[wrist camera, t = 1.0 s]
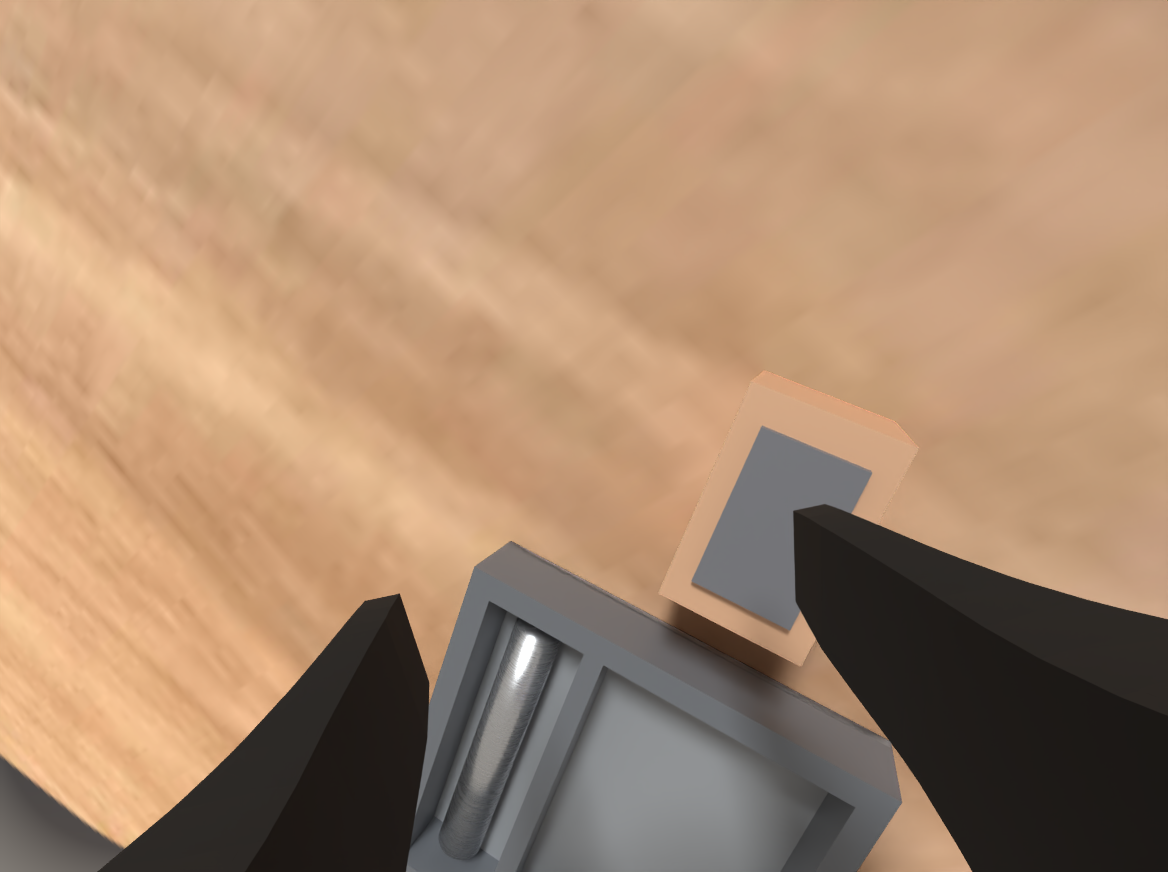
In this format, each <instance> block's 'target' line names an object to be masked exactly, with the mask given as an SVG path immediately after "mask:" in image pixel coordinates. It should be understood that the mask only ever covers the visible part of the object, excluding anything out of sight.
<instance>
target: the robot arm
mask: <svg viewBox="0 0 1168 872" xmlns="http://www.w3.org/2000/svg"><path fill="white" fill-rule="evenodd" d="M793 526H794V565H795V601H796V603H797V605H798V607H799V609H800V611H801V613H802V615H803V616H804V618H805V620H806V622H807V624H808V626H809V628H810V629H811V631H812V633H813V635H814V636H815V638H816V640H817V642H818V643H819V645H820V647H821V648H822V650H823V651H824V653H825V654H826V656H827V657H828V658H829V660H830V661H831V663H832V664H833V665H834V667H835V668H836V669H837V671H838V672H839V673H840V675H841V676H842V678H843V679H844V680H845V682H846V683H847V684H848V686H849V687H850V688H851V690H852V691H853V692H854V694H855V695H856V696H857V698H858V699H859V701H860V702H861V703H862V705H863V706H864V707H865V709H866V710H867V711H868V713H869V714H870V715H871V717H872V718H873V719H874V721H875V722H876V723H877V725H878V726H879V727H880V729H881V730H882V731H883V733H884V734H885V735H886V737H887V738H888V739H889V741H890V742H891V744H892V745H893V746H894V748H895V749H896V750H897V752H898V753H899V754H900V756H901V757H902V758H903V760H904V761H905V763H906V764H907V766H908V767H909V769H910V770H911V772H912V773H913V774H914V776H915V777H916V779H917V780H918V782H919V783H920V785H921V786H922V788H923V790H924V791H925V793H926V795H927V796H928V798H929V800H930V801H931V803H932V805H933V806H934V808H935V809H936V811H937V813H938V814H939V816H940V818H941V819H942V821H943V823H944V824H945V826H946V828H947V829H948V831H949V832H950V834H951V836H952V837H953V839H954V841H955V842H956V844H957V846H958V847H959V849H960V851H961V853H962V854H963V856H964V858H965V859H966V861H967V863H968V865H969V866H970V868H971V870H972V872H1168V619H1164V618H1160V617H1155V616H1151V615H1147V614H1142V613H1138V612H1134V611H1129V610H1125V609H1121V608H1117V607H1113V606H1109V605H1105V604H1101V603H1097V602H1093V601H1090V600H1086V599H1082V598H1079V597H1076V596H1072V595H1069V594H1065V593H1062V592H1059V591H1055V590H1052V589H1048V588H1045V587H1042V586H1038V585H1035V584H1032V583H1028V582H1025V581H1022V580H1019V579H1016V578H1013V577H1010V576H1007V575H1004V574H1001V573H999V572H996V571H993V570H990V569H988V568H985V567H982V566H979V565H976V564H974V563H971V562H968V561H965V560H963V559H960V558H958V557H955V556H952V555H950V554H947V553H945V552H942V551H940V550H937V549H935V548H932V547H930V546H927V545H925V544H922V543H920V542H917V541H915V540H913V539H910V538H908V537H905V536H903V535H901V534H898V533H896V532H894V531H891V530H889V529H887V528H884V527H882V526H880V525H877V524H875V523H872V522H870V521H868V520H865V519H863V518H861V517H858V516H856V515H853V514H851V513H848V512H846V511H843V510H841V509H838V508H836V507H833V506H830V505H827V504H822V505H818V506H813V507H808V508H803V509H799V510H794V511H793ZM428 714H429V680H428V677H427V674H426V671H425V668H424V665H423V662H422V659H421V656H420V653H419V650H418V647H417V644H416V641H415V638H414V635H413V632H412V629H411V626H410V623H409V620H408V617H407V614H406V611H405V608H404V605H403V602H402V599H401V596H400V594H396V595H391V596H387V597H382V598H377V599H372V600H368V601H365V602H364V603H363V604H362V605H361V606H360V607H359V608H358V609H357V610H356V612H355V613H354V614H353V615H352V616H351V618H350V619H349V620H348V621H347V622H346V624H345V625H344V626H343V627H342V628H341V630H340V631H339V632H338V633H337V635H336V636H335V637H334V638H333V639H332V641H331V642H330V643H329V644H328V646H327V647H326V648H325V649H324V650H323V652H322V653H321V654H320V655H319V656H318V657H317V659H316V660H315V661H314V662H313V663H312V665H311V666H310V667H309V668H308V669H307V671H306V672H305V673H304V674H303V675H302V676H301V678H300V679H299V680H298V681H297V682H296V684H295V685H294V686H293V687H292V688H291V689H290V690H289V691H288V693H287V694H286V695H285V696H284V697H283V698H282V699H281V700H280V701H279V702H278V703H277V705H276V706H275V707H274V708H273V709H272V710H271V711H270V712H269V713H268V714H267V715H266V717H265V718H264V719H263V720H262V721H261V722H260V723H259V724H258V725H257V726H256V727H255V729H254V730H253V731H252V732H251V733H250V734H249V735H248V736H247V737H246V738H245V739H244V740H243V741H242V742H241V743H240V744H239V745H238V747H237V748H236V749H235V750H234V751H233V752H232V753H231V754H230V755H229V756H228V757H227V758H226V759H225V760H224V761H222V762H221V763H220V764H219V765H218V766H217V767H216V768H215V769H214V770H213V771H212V772H211V773H210V774H209V775H208V776H207V777H206V778H205V779H204V780H203V781H202V782H200V783H199V784H198V785H197V786H196V787H195V788H194V789H193V790H192V791H191V792H190V793H189V794H188V795H187V796H186V797H184V798H183V799H182V800H181V801H180V802H179V803H178V804H177V805H176V806H175V807H173V808H172V809H171V810H170V811H169V812H168V813H167V814H165V815H164V816H163V817H162V818H161V819H160V820H158V821H157V822H156V823H155V824H154V825H152V826H151V827H150V828H149V829H148V830H146V831H145V832H144V833H143V834H142V835H141V836H139V837H138V838H137V839H136V840H135V841H133V842H132V843H131V844H130V845H129V846H128V847H126V848H125V849H124V850H123V851H122V852H120V853H119V854H118V855H117V856H116V857H115V858H113V859H112V860H111V861H110V862H109V863H107V864H106V865H105V866H104V867H103V868H101V869H100V870H99V871H98V872H406V868H407V862H408V856H409V850H410V844H411V838H412V832H413V826H414V819H415V813H416V807H417V801H418V795H419V789H420V783H421V777H422V770H423V764H424V758H425V751H426V744H427V736H428Z"/></svg>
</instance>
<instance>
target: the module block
mask: <svg viewBox="0 0 1168 872" xmlns="http://www.w3.org/2000/svg"><path fill="white" fill-rule="evenodd" d="M918 450H919V447H918V446H917V445H916V444H915V443H914V442H913V441H912V440H911V438H910V437H909V436H908V435H907V434H906V433H905V432H904V431H903V429H902V428H901V427H900V426H899V425H898V424H897V423H896V421H893V420H891V419H888V418H886V417H883V416H881V415H878V414H875V413H873V412H870V411H868V410H865V409H863V408H860V407H857V406H855V405H852V404H850V403H847V402H845V401H842V400H840V399H837V398H834V397H832V396H829V395H827V394H824V393H822V392H819V391H816V390H814V389H811V388H809V387H806V386H804V385H801V384H799V383H796V382H793V381H791V380H788V379H786V378H783V377H781V376H778V375H775V374H773V373H770V372H768V371H765V370H764V371H763V372H761V373H760V374H759V375H758V376H757V377H755V378H754V379H753V380H752V381H751V382H750V384H749V387H748V389H747V391H746V394H745V396H744V398H743V400H742V403H741V405H740V407H739V410H738V412H737V414H736V416H735V419H734V421H733V423H732V426H731V428H730V430H729V432H728V435H727V437H726V439H725V442H724V444H723V446H722V448H721V451H720V453H719V455H718V458H717V460H716V462H715V464H714V467H713V469H712V471H711V473H710V476H709V478H708V480H707V483H706V485H705V487H704V489H703V492H702V494H701V496H700V499H699V501H698V503H697V505H696V508H695V510H694V512H693V515H692V517H691V519H690V521H689V524H688V526H687V528H686V531H685V533H684V535H683V537H682V540H681V542H680V544H679V547H678V549H677V551H676V553H675V556H674V558H673V560H672V563H671V565H670V567H669V569H668V572H667V574H666V576H665V579H664V581H663V583H662V585H661V588H660V590H659V592H658V594H660V595H662V596H664V597H666V598H668V599H670V600H672V601H674V602H676V603H678V604H680V605H682V606H684V607H686V608H688V609H689V610H691V611H693V612H695V613H697V614H699V615H701V616H703V617H705V618H707V619H709V620H711V621H713V622H715V623H717V624H719V625H720V626H722V627H724V628H726V629H728V630H730V631H732V632H734V633H736V634H738V635H740V636H742V637H744V638H746V639H748V640H750V641H751V642H753V643H755V644H757V645H759V646H761V647H763V648H765V649H767V650H769V651H771V652H773V653H775V654H777V655H779V656H781V657H782V658H784V659H786V660H788V661H790V662H792V663H794V664H796V665H798V666H800V667H801V666H802V664H803V662H804V660H805V659H806V657H807V655H808V653H809V651H810V649H811V647H812V646H813V644H814V642H815V640H816V638H815V636H814V635H813V633H812V631H811V629H810V628H809V626H808V624H807V622H806V620H805V618H804V616H803V615H802V613H801V611H800V609H799V607H798V605H797V603H796V601H795V565H794V526H793V511H794V510H799V509H803V508H808V507H813V506H818V505H822V504H827V505H830V506H833V507H836V508H838V509H841V510H843V511H846V512H848V513H851V514H853V515H856V516H858V517H861V518H863V519H865V520H868V521H870V522H872V523H875V524H877V525H878V524H879V522H880V520H881V518H882V516H883V514H884V512H885V511H886V509H887V507H888V505H889V503H890V501H891V500H892V498H893V496H894V494H895V492H896V490H897V488H898V487H899V485H900V483H901V481H902V479H903V477H904V475H905V474H906V472H907V470H908V468H909V466H910V464H911V463H912V461H913V459H914V457H915V455H916V453H917V451H918Z"/></svg>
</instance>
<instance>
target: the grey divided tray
mask: <svg viewBox="0 0 1168 872" xmlns="http://www.w3.org/2000/svg"><path fill="white" fill-rule="evenodd" d="M517 617H519V618H521V619H522V620H524V621H526V622H528V623H529V624H531V625H533V626H535V627H537V628H538V629H540V630H542V631H544V632H545V633H547V634H549V635H551V636H552V637H554V638H556V639H558V640H560V641H561V644H560V646H559V649H558V651H557V654H556V656H555V659H554V661H553V664H552V667H551V669H550V672H549V674H548V677H547V679H546V682H545V684H544V687H543V689H542V692H541V694H540V697H539V700H538V702H537V705H536V707H535V710H534V712H533V715H532V717H531V720H530V722H529V725H528V727H527V730H526V733H525V735H524V738H523V740H522V743H521V745H520V748H519V750H518V753H517V755H516V758H515V760H514V763H513V766H512V768H511V771H510V773H509V776H508V778H507V781H506V783H505V786H504V788H503V791H502V793H501V796H500V799H499V801H498V804H497V806H496V809H495V811H494V814H493V816H492V819H491V821H490V824H489V826H488V829H487V832H486V834H485V837H484V839H483V842H482V844H481V847H480V849H479V851H478V852H477V854H476V855H475V856H473V857H472V858H470V859H467V860H455V859H453V858H451V857H449V856H447V855H446V854H445V853H444V852H443V850H442V849H441V847H440V844H439V832H440V829H441V826H442V824H443V821H444V818H445V815H446V813H447V810H448V807H449V804H450V801H451V799H452V796H453V793H454V790H455V788H456V785H457V782H458V779H459V777H460V774H461V771H462V768H463V766H464V763H465V760H466V757H467V755H468V752H469V749H470V746H471V744H472V741H473V738H474V735H475V733H476V730H477V727H478V724H479V722H480V719H481V716H482V713H483V711H484V708H485V705H486V702H487V700H488V697H489V694H490V691H491V689H492V686H493V683H494V680H495V678H496V675H497V672H498V669H499V666H500V664H501V661H502V658H503V655H504V653H505V650H506V647H507V644H508V642H509V639H510V636H511V633H512V631H513V628H514V625H515V622H516V620H517ZM901 803H902V799H901V794H900V788H899V783H898V778H897V772H896V767H895V762H894V756H893V751H892V745H891V742H890V741H889V740H887V739H885V738H883V737H881V736H879V735H877V734H876V733H874V732H872V731H870V730H868V729H866V728H864V727H862V726H860V725H858V724H857V723H855V722H853V721H851V720H849V719H847V718H845V717H843V716H841V715H840V714H838V713H836V712H834V711H832V710H830V709H828V708H826V707H824V706H822V705H821V704H819V703H817V702H815V701H813V700H811V699H809V698H807V697H805V696H804V695H802V694H800V693H798V692H796V691H794V690H792V689H790V688H788V687H787V686H785V685H783V684H781V683H779V682H777V681H775V680H773V679H771V678H769V677H768V676H766V675H764V674H762V673H760V672H758V671H756V670H754V669H752V668H751V667H749V666H747V665H745V664H743V663H741V662H739V661H737V660H735V659H733V658H732V657H730V656H728V655H726V654H724V653H722V652H720V651H718V650H716V649H715V648H713V647H711V646H709V645H707V644H705V643H703V642H701V641H699V640H698V639H696V638H694V637H692V636H690V635H688V634H686V633H684V632H682V631H680V630H679V629H677V628H675V627H673V626H671V625H669V624H667V623H665V622H663V621H662V620H660V619H658V618H656V617H654V616H652V615H650V614H648V613H646V612H644V611H643V610H641V609H639V608H637V607H635V606H633V605H631V604H629V603H627V602H626V601H624V600H622V599H620V598H618V597H616V596H614V595H612V594H610V593H609V592H607V591H605V590H603V589H601V588H599V587H597V586H595V585H593V584H591V583H590V582H588V581H586V580H584V579H582V578H580V577H578V576H576V575H574V574H573V573H571V572H569V571H567V570H565V569H563V568H561V567H559V566H557V565H555V564H554V563H552V562H550V561H548V560H546V559H544V558H542V557H540V556H538V555H537V554H535V553H533V552H531V551H529V550H527V549H525V548H523V547H521V546H520V545H518V544H516V543H514V542H512V541H510V542H509V543H507V544H506V545H505V546H503V547H502V548H500V549H499V550H497V551H496V552H495V553H493V554H492V555H490V556H489V557H487V558H486V559H485V560H483V561H482V562H480V563H479V564H478V565H476V566H475V567H474V570H473V573H472V576H471V579H470V582H469V585H468V588H467V591H466V594H465V597H464V600H463V603H462V606H461V609H460V612H459V615H458V618H457V622H456V625H455V628H454V631H453V634H452V637H451V640H450V643H449V646H448V649H447V652H446V655H445V658H444V661H443V664H442V667H441V670H440V673H439V676H438V679H437V682H436V685H435V688H434V691H433V695H432V698H431V701H430V704H429V714H428V736H427V744H426V751H425V758H424V764H423V770H422V777H421V783H420V789H419V795H418V801H417V807H416V813H415V819H414V826H413V832H412V838H411V844H410V850H409V856H408V862H407V868H406V872H857V870H858V869H859V867H860V866H861V864H862V863H863V861H864V860H865V858H866V857H867V855H868V854H869V852H870V851H871V849H872V848H873V846H874V845H875V843H876V841H877V840H878V838H879V837H880V835H881V834H882V832H883V831H884V829H885V828H886V826H887V825H888V823H889V822H890V820H891V819H892V817H893V815H894V814H895V812H896V811H897V809H898V808H899V806H900V805H901Z"/></svg>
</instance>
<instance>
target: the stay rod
mask: <svg viewBox="0 0 1168 872" xmlns="http://www.w3.org/2000/svg"><path fill="white" fill-rule="evenodd" d="M560 644H561V641H560V640H558V639H556V638H554V637H552V636H551V635H549V634H547V633H545V632H544V631H542V630H540V629H538V628H537V627H535V626H533V625H531V624H529V623H528V622H526V621H524V620H522V619H521V618H519V617H517V620H516V622H515V625H514V628H513V631H512V633H511V636H510V639H509V642H508V644H507V647H506V650H505V653H504V655H503V658H502V661H501V664H500V666H499V669H498V672H497V675H496V678H495V680H494V683H493V686H492V689H491V691H490V694H489V697H488V700H487V702H486V705H485V708H484V711H483V713H482V716H481V719H480V722H479V724H478V727H477V730H476V733H475V735H474V738H473V741H472V744H471V746H470V749H469V752H468V755H467V757H466V760H465V763H464V766H463V768H462V771H461V774H460V777H459V779H458V782H457V785H456V788H455V790H454V793H453V796H452V799H451V801H450V804H449V807H448V810H447V813H446V815H445V818H444V821H443V824H442V826H441V829H440V832H439V844H440V847H441V849H442V850H443V852H444V853H445V854H446V855H447V856H449V857H451V858H453V859H455V860H467V859H470V858H472V857H473V856H475V855H476V854H477V852H478V851H479V849H480V847H481V844H482V842H483V839H484V837H485V834H486V832H487V829H488V826H489V824H490V821H491V819H492V816H493V814H494V811H495V809H496V806H497V804H498V801H499V799H500V796H501V793H502V791H503V788H504V786H505V783H506V781H507V778H508V776H509V773H510V771H511V768H512V766H513V763H514V760H515V758H516V755H517V753H518V750H519V748H520V745H521V743H522V740H523V738H524V735H525V733H526V730H527V727H528V725H529V722H530V720H531V717H532V715H533V712H534V710H535V707H536V705H537V702H538V700H539V697H540V694H541V692H542V689H543V687H544V684H545V682H546V679H547V677H548V674H549V672H550V669H551V667H552V664H553V661H554V659H555V656H556V654H557V651H558V649H559V646H560Z"/></svg>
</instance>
